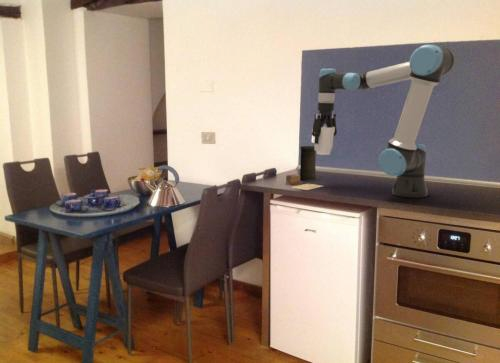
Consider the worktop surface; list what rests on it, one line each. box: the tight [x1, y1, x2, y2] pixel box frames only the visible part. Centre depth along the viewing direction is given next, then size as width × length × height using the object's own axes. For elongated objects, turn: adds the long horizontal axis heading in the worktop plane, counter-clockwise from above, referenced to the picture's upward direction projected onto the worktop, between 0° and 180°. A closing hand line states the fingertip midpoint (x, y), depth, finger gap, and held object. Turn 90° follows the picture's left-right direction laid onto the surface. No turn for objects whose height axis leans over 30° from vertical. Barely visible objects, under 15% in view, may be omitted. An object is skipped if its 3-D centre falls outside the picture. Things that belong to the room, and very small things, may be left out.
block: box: [285, 173, 301, 187], centre depth 233 cm, size 5×5×5 cm
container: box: [299, 145, 317, 182], centre depth 245 cm, size 9×9×18 cm
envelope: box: [290, 183, 324, 191], centre depth 227 cm, size 10×14×1 cm
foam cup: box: [316, 125, 335, 156], centre depth 222 cm, size 10×9×13 cm
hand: (323, 149), depth 223 cm, fingers closed on foam cup, 9 cm apart
